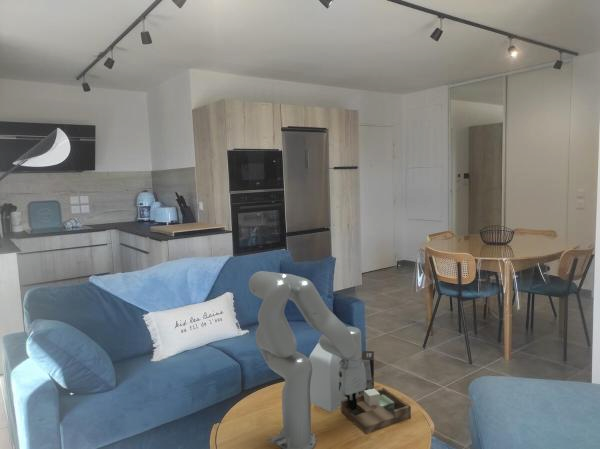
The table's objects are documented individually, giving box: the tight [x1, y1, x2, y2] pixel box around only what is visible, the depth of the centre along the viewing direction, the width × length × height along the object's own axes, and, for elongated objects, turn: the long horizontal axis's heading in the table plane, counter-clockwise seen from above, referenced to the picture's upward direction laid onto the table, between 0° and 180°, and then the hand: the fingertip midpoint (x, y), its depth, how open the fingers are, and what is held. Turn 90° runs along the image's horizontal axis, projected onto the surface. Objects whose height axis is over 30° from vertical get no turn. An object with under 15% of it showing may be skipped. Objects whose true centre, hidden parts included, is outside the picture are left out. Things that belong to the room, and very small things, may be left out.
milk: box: [308, 338, 348, 413], centre depth 176 cm, size 12×12×26 cm
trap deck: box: [340, 387, 412, 434], centre depth 166 cm, size 20×16×4 cm
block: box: [364, 388, 380, 406], centre depth 170 cm, size 4×4×4 cm
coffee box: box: [358, 350, 375, 396], centre depth 182 cm, size 9×6×16 cm
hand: (352, 408), depth 166 cm, fingers closed
